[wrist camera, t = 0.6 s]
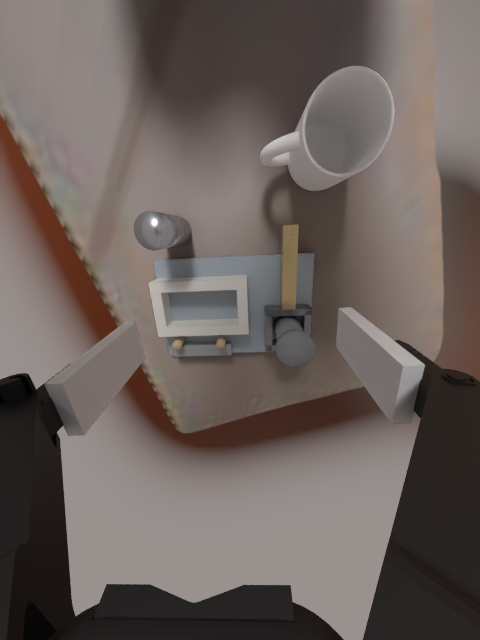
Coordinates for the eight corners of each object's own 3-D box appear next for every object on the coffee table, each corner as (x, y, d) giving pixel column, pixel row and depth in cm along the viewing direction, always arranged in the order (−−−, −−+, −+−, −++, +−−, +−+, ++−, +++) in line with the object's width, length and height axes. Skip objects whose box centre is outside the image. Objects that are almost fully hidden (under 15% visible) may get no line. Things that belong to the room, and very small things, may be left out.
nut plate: (156, 259, 37) (124, 269, 27) (312, 252, 35) (335, 260, 26) (171, 351, 42) (149, 385, 33) (307, 347, 41) (324, 381, 32)
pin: (162, 216, 34) (130, 212, 25) (189, 215, 34) (167, 210, 25) (166, 245, 36) (137, 251, 27) (192, 244, 36) (173, 249, 26)
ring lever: (263, 226, 33) (264, 226, 31) (312, 223, 33) (317, 223, 30) (264, 344, 40) (265, 351, 37) (305, 343, 39) (309, 350, 37)
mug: (261, 201, 33) (266, 189, 24) (254, 130, 30) (256, 85, 21) (348, 186, 32) (391, 168, 23) (349, 112, 29) (399, 55, 20)
